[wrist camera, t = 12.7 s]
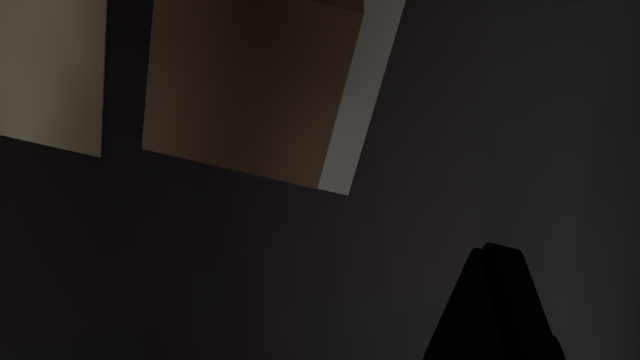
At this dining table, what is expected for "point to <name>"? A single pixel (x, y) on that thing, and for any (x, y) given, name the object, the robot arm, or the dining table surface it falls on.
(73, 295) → the dining table surface
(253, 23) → the walnut block
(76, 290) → the dining table surface
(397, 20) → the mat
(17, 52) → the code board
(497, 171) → the dining table surface
